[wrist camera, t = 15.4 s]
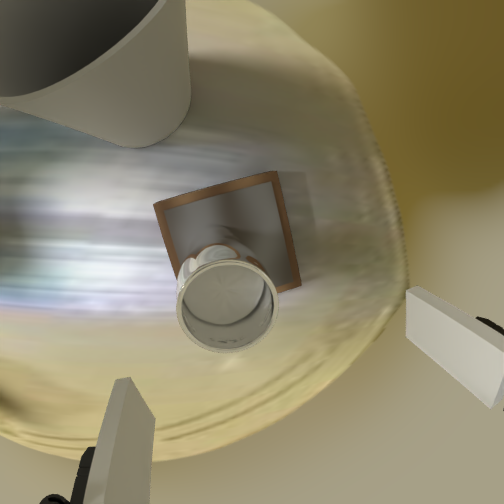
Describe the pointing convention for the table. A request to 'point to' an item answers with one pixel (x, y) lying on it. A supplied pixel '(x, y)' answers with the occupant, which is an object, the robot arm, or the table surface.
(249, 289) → the beer glass
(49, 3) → the cylinder vase
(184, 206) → the walnut stand
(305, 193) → the table surface
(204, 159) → the table surface
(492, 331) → the robot arm
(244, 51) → the table surface
